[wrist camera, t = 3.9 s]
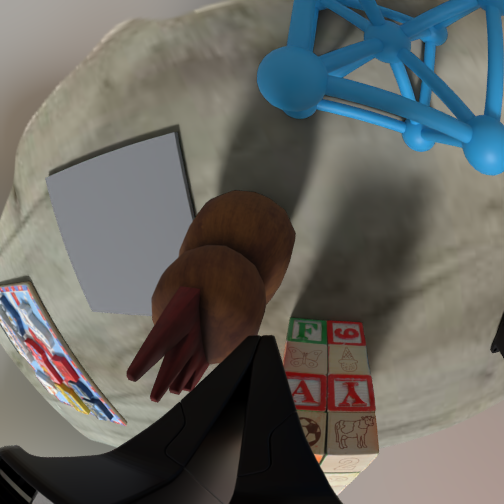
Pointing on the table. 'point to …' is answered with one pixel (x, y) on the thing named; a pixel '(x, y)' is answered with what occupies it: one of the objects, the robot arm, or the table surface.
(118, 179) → the felt mat
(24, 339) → the puzzle board
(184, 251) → the wooden figurine
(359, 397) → the stack of blocks
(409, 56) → the molecular structure
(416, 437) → the table surface
